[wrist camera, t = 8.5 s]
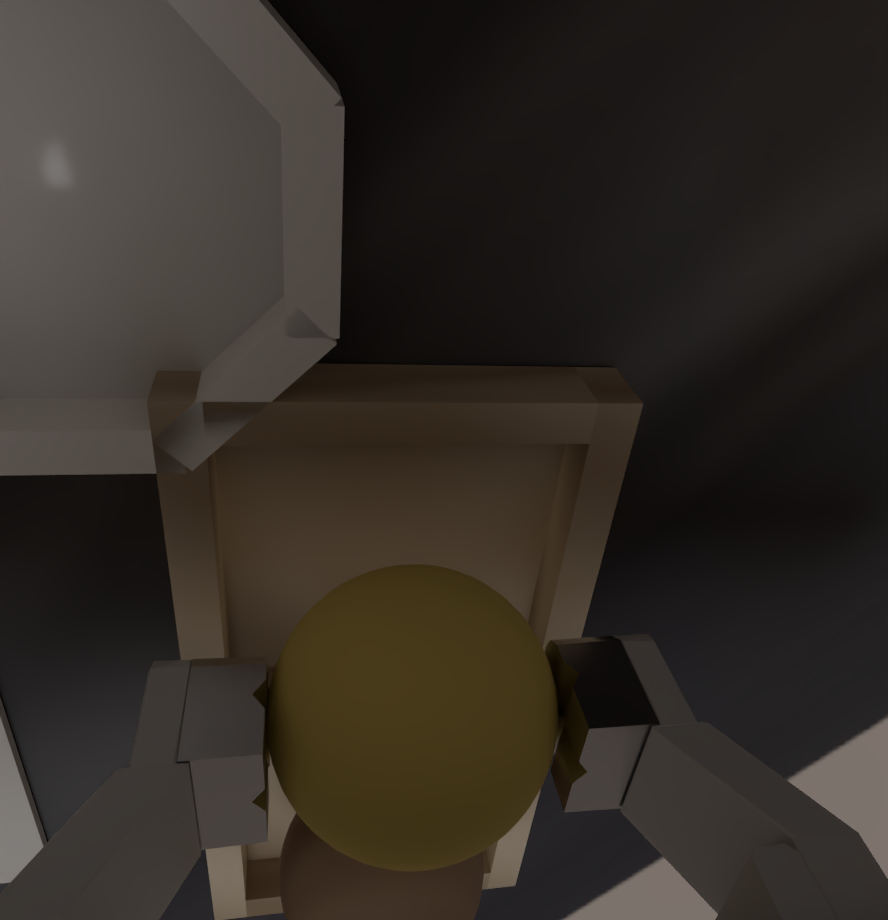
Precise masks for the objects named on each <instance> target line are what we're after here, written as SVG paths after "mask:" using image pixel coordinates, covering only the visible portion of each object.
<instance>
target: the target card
mask: <svg viewBox="0 0 888 920" xmlns="http://www.w3.org/2000/svg"><path fill="white" fill-rule="evenodd" d="M46 844H47V840H46V836H45V833H44V830H43V827H42V824H41V821H40V818H39V815H38V812H37V809H36V806H35V803H34V800H33V796H32V793H31V790H30V787H29V784H28V781H27V778H26V775H25V772H24V769H23V766H22V763H21V760H20V756H19V753H18V750H17V747H16V744H15V741H14V738H13V735H12V732H11V729H10V726H9V723H8V720H7V716H6V713H5V710H4V707H3V704H2V701H1V698H0V883H8V882H11V881H12V880H13V879H14V878H15V877H16V876H17V875H18V874H19V873H20V872H21V871H22V869H23V868H24V867H25V866H26V865H27V864H28V863H29V862H30V861H31V860H32V859H33V858H34V857H35V856H36V854H37V853H38V852H39V851H40V850H41V849H42V848H43V847H44V846H45V845H46Z"/></svg>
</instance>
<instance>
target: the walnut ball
mask: <svg viewBox="0 0 888 920" xmlns="http://www.w3.org/2000/svg"><path fill="white" fill-rule="evenodd" d="M483 877H484V859H483V852H481V853H479V854H477V855H475V856H473V857H471V858H469V859H467V860H465V861H462V862H459V863H457V864H454V865H450V866H447V867H443V868H438V869H433V870H426V871H394V870H388V869H383V868H378V867H374V866H370V865H367V864H364V863H361V862H359V861H356V860H354V859H352V858H350V857H348V856H346V855H344V854H342V853H341V852H339V851H337V850H335V849H334V848H332V847H331V846H330V845H328V844H327V843H326V842H325V841H323V840H322V839H321V838H319V837H318V836H317V835H316V834H315V833H314V832H313V831H312V830H311V829H310V828H309V827H308V826H307V825H306V824H305V823H304V821H303V820H302V819H301V818H300V817H299V816H298V815H297V813H296V814H295V816H294V818H293V819H292V821H291V823H290V825H289V828H288V831H287V833H286V836H285V839H284V843H283V847H282V851H281V856H280V867H279V891H280V897H281V902H282V908H283V912H284V915H285V918H286V920H473V919H474V917H475V915H476V912H477V909H478V905H479V902H480V898H481V894H482V886H483Z"/></svg>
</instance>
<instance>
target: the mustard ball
mask: <svg viewBox="0 0 888 920" xmlns="http://www.w3.org/2000/svg"><path fill="white" fill-rule="evenodd" d="M557 728H558V703H557V694H556V687H555V683H554V679H553V675H552V671H551V667H550V664H549V661H548V659H547V657H546V654H545V652H544V650H543V648H542V646H541V643H540V641H539V639H538V637H537V636H536V634H535V633H534V631H533V630H532V628H531V627H530V625H529V624H528V622H527V621H526V620H525V618H524V617H523V616H522V614H521V613H520V612H519V611H518V610H517V609H516V608H515V607H514V606H513V605H512V604H511V603H510V602H509V601H508V600H507V599H506V598H505V597H503V596H502V595H501V594H499V593H498V592H496V591H495V590H494V589H492V588H491V587H489V586H488V585H486V584H485V583H483V582H481V581H479V580H477V579H475V578H474V577H471V576H469V575H466V574H463V573H461V572H458V571H455V570H452V569H449V568H444V567H440V566H433V565H425V564H407V565H395V566H390V567H384V568H380V569H377V570H373V571H370V572H366V573H364V574H361V575H359V576H357V577H354V578H352V579H350V580H348V581H346V582H344V583H343V584H341V585H339V586H338V587H336V588H335V589H333V590H332V591H330V592H329V593H328V594H327V595H325V596H324V597H323V598H322V599H321V600H320V601H318V602H317V603H316V604H315V605H314V606H313V607H312V608H311V609H310V610H309V611H308V612H307V613H306V614H305V615H304V617H303V618H302V619H301V620H300V622H299V623H298V624H297V626H296V627H295V628H294V630H293V631H292V633H291V634H290V636H289V638H288V639H287V641H286V643H285V645H284V647H283V649H282V651H281V654H280V656H279V658H278V660H277V662H276V665H275V669H274V672H273V676H272V679H271V683H270V687H269V692H268V714H267V716H266V729H267V740H268V746H269V751H270V756H271V761H272V765H273V767H274V770H275V773H276V775H277V778H278V780H279V783H280V786H281V788H282V791H283V792H284V794H285V796H286V797H287V799H288V801H289V802H290V804H291V805H292V807H293V809H294V810H295V812H296V813H297V815H298V816H299V817H300V818H301V819H302V820H303V821H304V823H305V824H306V825H307V826H308V827H309V828H310V829H311V830H312V831H313V832H314V833H315V834H316V835H317V836H318V837H319V838H321V839H322V840H323V841H325V842H326V843H327V844H328V845H330V846H331V847H332V848H334V849H335V850H337V851H339V852H341V853H342V854H344V855H346V856H348V857H350V858H352V859H354V860H356V861H359V862H361V863H364V864H367V865H370V866H374V867H378V868H383V869H388V870H394V871H426V870H433V869H438V868H443V867H447V866H450V865H454V864H457V863H459V862H462V861H465V860H467V859H469V858H471V857H473V856H475V855H477V854H479V853H481V852H482V851H484V850H485V849H487V848H488V847H490V846H491V845H493V844H494V843H496V842H497V841H498V840H500V839H501V838H502V837H503V836H505V835H506V834H507V833H508V832H509V831H510V830H511V829H512V828H513V827H514V826H515V825H516V823H517V822H518V821H519V820H520V819H521V818H522V817H523V816H524V814H525V813H526V812H527V810H528V809H529V808H530V806H531V804H532V803H533V801H534V799H535V798H536V796H537V794H538V793H539V791H540V789H541V787H542V785H543V783H544V780H545V778H546V775H547V773H548V770H549V767H550V765H551V762H552V758H553V753H554V749H555V744H556V738H557Z"/></svg>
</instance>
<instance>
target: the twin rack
mask: <svg viewBox="0 0 888 920" xmlns="http://www.w3.org/2000/svg"><path fill="white" fill-rule="evenodd" d="M201 373H202V371H157V372H156V375H155V378H154V381H153V384H152V387H151V390H150V394H149V397H148V400H147V406H148V413H149V421H150V429H151V434H152V435H151V436H152V441H153V442H152V444H153V452H154V457H155V455H156V456H157V457H155V458H154V459H156V460H158V461H156V460H155V461H156V462H157V463H158V462H159V464H161V465H160V466H161V468H160V466H159V464H158V465H157V464H155V467H156V471H157V469H158V470H160V469H161V470H160V471H158V472H161V473H162V474H161V473H158V472H157V473H156V474H157V482H158V490H159V497H160V505H161V513H162V520H163V528H164V536H165V543H166V551H167V558H168V566H169V574H170V581H171V589H172V597H173V604H174V612H175V620H176V627H177V635H178V642H179V650H180V658H181V660H191V659H206V658H238V657H268V669H269V687H270V683H271V679H272V676H273V672H274V669H275V665H276V662H277V660H278V658H279V656H280V654H281V651H282V649H283V647H284V645H285V643H286V641H287V639H288V638H289V636H290V634H291V633H292V631H293V630H294V628H295V627H296V626H297V624H298V623H299V622H300V620H301V619H302V618H303V617H304V615H305V614H306V613H307V612H308V611H309V610H310V609H311V608H312V607H313V606H314V605H315V604H316V603H317V602H318V601H320V600H321V599H322V598H323V597H324V596H325V595H327V594H328V593H329V592H330V591H332V590H333V589H335V588H336V587H338V586H339V585H341V584H343V583H344V582H346V581H348V580H350V579H352V578H354V577H357V576H359V575H361V574H364V573H366V572H370V571H373V570H377V569H380V568H384V567H390V566H395V565H407V564H425V565H433V566H440V567H444V568H449V569H452V570H455V571H458V572H461V573H463V574H466V575H469V576H471V577H474V578H475V579H477V580H479V581H481V582H483V583H485V584H486V585H488V586H489V587H491V588H492V589H494V590H495V591H496V592H498V593H499V594H501V595H502V596H503V597H505V598H506V599H507V600H508V601H509V602H510V603H511V604H512V605H513V606H514V607H515V608H516V609H517V610H518V611H519V612H520V613H521V614H522V616H523V617H524V618H525V620H526V621H527V622H528V624H529V625H530V627H531V628H532V630H533V631H534V633H535V634H536V636H537V637H538V639H539V641H540V643H541V646H542V648H543V650H544V652H545V648H546V645H547V644H548V642H549V641H550V640H558V639H573V638H581V636H582V632H583V629H584V625H585V621H586V617H587V614H588V610H589V606H590V602H591V599H592V595H593V591H594V587H595V583H596V580H597V576H598V572H599V568H600V565H601V561H602V557H603V553H604V550H605V546H606V542H607V538H608V535H609V531H610V527H611V523H612V520H613V516H614V512H615V508H616V505H617V501H618V497H619V493H620V489H621V486H622V482H623V478H624V474H625V471H626V467H627V463H628V459H629V456H630V452H631V448H632V444H633V441H634V437H635V433H636V429H637V426H638V422H639V418H640V414H641V411H642V407H643V403H642V401H641V400H640V399H639V397H638V396H637V395H636V393H635V392H634V391H633V390H632V388H631V387H630V386H629V384H628V383H627V382H626V380H625V379H624V378H623V377H622V375H621V374H620V373H619V371H618V370H617V369H616V368H612V367H539V366H466V365H394V364H321V363H315V364H314V365H313V366H312V367H311V368H309V369H308V370H307V371H306V372H305V373H304V374H303V375H301V376H300V377H299V378H298V379H297V380H296V381H295V382H293V383H292V384H291V385H290V386H289V387H288V388H287V389H285V390H284V391H283V392H282V393H281V394H280V395H279V396H277V397H276V398H275V399H274V400H273V401H272V402H270V403H269V402H257V404H258V407H259V408H258V407H257V404H256V402H254V403H253V402H244V403H245V404H244V403H243V402H241V403H239V402H231V403H230V402H202V403H201V404H202V405H203V409H204V410H203V411H205V412H203V413H204V415H203V413H202V411H201V413H202V416H204V417H203V418H205V419H206V421H203V420H202V419H201V420H202V422H204V423H207V420H208V421H209V422H208V423H210V422H211V421H212V420H213V419H214V422H213V421H212V422H213V423H215V421H216V422H217V423H218V422H221V421H222V420H226V419H228V420H229V419H230V418H228V417H230V415H231V414H232V415H231V416H232V417H233V416H234V415H235V414H236V413H237V412H238V411H237V410H238V409H239V411H240V412H238V413H237V414H236V415H239V414H240V416H234V417H238V418H235V419H236V421H238V420H237V419H239V421H240V420H241V419H242V420H244V421H247V420H248V419H246V417H247V415H248V414H249V413H251V414H250V415H248V417H247V418H249V420H250V421H249V422H248V421H247V422H248V423H247V422H246V423H247V424H246V425H244V426H243V427H242V428H241V429H240V430H239V431H238V432H237V431H236V433H235V431H234V433H235V434H234V435H233V436H232V437H231V438H229V439H228V440H227V441H226V442H225V443H224V444H223V445H222V446H220V447H219V448H218V449H217V450H216V451H215V452H214V453H212V454H211V455H210V456H209V457H208V458H207V459H206V460H204V461H203V462H202V463H201V464H200V465H199V466H198V467H196V468H195V469H194V470H193V471H191V470H190V469H189V468H187V467H186V469H185V470H186V473H179V472H181V471H183V472H184V469H183V470H180V471H179V472H178V473H177V470H179V469H182V468H183V467H185V465H184V466H183V465H182V464H180V465H182V466H183V467H182V466H181V467H182V468H179V467H180V465H179V463H180V462H179V463H178V461H176V460H175V459H177V458H178V457H177V456H176V457H177V458H176V457H175V459H174V456H173V457H172V456H171V455H174V454H172V453H170V454H171V455H169V453H168V451H167V452H166V451H165V450H162V449H165V447H166V450H169V448H170V447H172V446H171V445H173V443H174V446H176V445H175V442H174V441H176V439H175V438H176V437H175V438H174V436H173V435H172V436H171V433H172V434H174V435H175V434H176V433H173V432H176V431H177V433H178V432H183V430H184V428H183V430H182V429H181V428H182V427H183V426H187V427H188V425H186V421H185V420H184V416H183V415H181V414H182V413H183V414H185V413H184V411H185V410H186V411H187V412H188V410H187V409H190V406H191V407H192V404H193V403H194V402H195V400H196V395H197V391H198V386H199V382H200V377H201ZM196 403H197V402H196ZM199 403H200V402H199ZM226 403H227V404H226ZM228 403H229V404H228ZM249 403H250V404H249ZM204 404H205V405H204ZM223 404H224V405H223ZM237 404H239V405H237ZM247 404H248V406H249V405H250V406H249V407H248V406H247ZM254 404H255V405H254ZM259 404H260V406H259ZM262 404H263V405H262ZM193 405H194V404H193ZM197 405H198V404H197ZM242 405H243V406H242ZM244 405H246V406H244ZM252 405H253V406H254V407H253V406H252ZM198 406H200V405H198ZM206 406H207V407H206ZM225 406H226V407H225ZM230 406H231V407H230ZM236 406H237V407H236ZM262 406H263V407H262ZM210 407H211V408H210ZM217 407H218V408H217ZM227 407H228V408H227ZM252 407H253V408H254V409H253V408H252ZM255 407H256V408H255ZM260 407H261V408H260ZM193 408H194V409H195V406H193ZM198 408H200V407H197V409H198ZM208 408H209V409H208ZM225 408H226V409H225ZM245 408H247V409H245ZM250 408H251V409H250ZM257 408H258V409H257ZM262 408H264V409H262ZM194 409H193V410H194ZM219 409H220V410H219ZM259 409H260V412H259V411H258V412H257V410H259ZM261 409H262V410H261ZM190 410H192V409H190ZM200 410H201V409H200ZM230 410H231V411H230ZM241 410H242V411H241ZM245 410H247V411H245ZM253 410H254V411H253ZM195 411H196V410H195ZM197 411H198V410H197ZM214 411H215V413H214ZM218 411H219V412H218ZM221 411H222V412H221ZM226 411H227V412H226ZM234 411H235V412H234ZM244 411H245V412H244ZM249 411H253V412H256V413H254V414H253V412H249ZM190 412H191V413H189V414H193V413H192V412H194V411H190ZM206 412H207V414H206ZM211 412H212V413H211ZM217 412H218V414H219V415H218V414H217ZM224 412H226V413H228V414H225V413H224ZM246 412H247V414H245V413H246ZM195 413H196V412H195ZM195 413H194V416H195ZM243 413H244V414H243ZM205 414H206V415H205ZM209 414H211V415H209ZM214 414H216V416H217V417H216V416H214ZM220 414H221V416H222V415H223V416H222V417H223V418H224V417H225V418H224V419H223V418H222V417H221V416H220ZM241 414H242V415H245V416H246V417H245V416H243V417H244V419H243V417H242V415H241ZM256 414H257V415H256ZM180 415H181V416H182V417H183V418H182V417H181V418H180V419H181V420H179V421H180V423H181V421H182V422H183V423H185V425H184V424H183V423H181V425H182V424H183V426H182V427H180V426H181V425H177V428H178V426H179V428H180V430H181V431H180V430H179V428H178V430H179V431H178V430H172V429H174V427H175V429H177V428H176V426H175V425H174V423H176V424H179V422H177V421H178V420H177V418H179V416H180ZM186 415H188V414H187V413H186ZM186 415H185V417H186ZM199 415H200V413H199ZM199 415H198V416H199ZM212 415H213V416H212ZM227 415H228V417H226V416H227ZM251 415H253V416H254V415H255V417H252V416H251ZM191 416H193V415H190V416H187V417H190V418H188V419H186V418H185V419H186V420H187V424H189V422H188V421H189V420H191V419H192V417H191ZM206 416H209V417H207V418H206ZM250 416H251V417H252V419H250V418H251V417H250ZM219 417H220V418H221V419H222V420H218V418H219ZM232 417H231V420H234V417H233V419H232ZM239 417H242V418H239ZM215 418H216V420H215ZM182 419H183V420H182ZM210 419H211V420H210ZM174 420H176V421H174ZM194 420H196V421H197V418H196V419H194ZM217 420H218V421H217ZM231 420H230V421H231ZM173 421H174V422H173ZM191 421H192V423H193V420H191ZM198 421H200V420H199V419H198ZM226 421H227V420H226ZM226 421H223V422H221V423H222V425H223V427H224V422H225V423H226V424H227V423H230V421H228V422H226ZM239 421H238V422H235V420H234V421H233V422H234V424H235V423H237V424H238V423H239ZM240 422H241V421H240ZM172 423H173V426H171V425H172ZM194 423H195V421H194ZM194 423H193V424H194ZM213 423H212V424H213ZM217 423H215V424H216V425H217ZM242 423H243V424H245V423H244V422H243V421H242ZM242 423H240V424H238V425H241V424H242ZM170 424H171V425H170ZM190 424H191V422H190ZM193 424H191V425H193ZM197 424H201V425H202V423H199V422H197ZM210 424H211V423H210ZM210 424H209V425H208V426H209V427H210V426H211V427H210V428H212V427H213V429H217V428H216V427H214V426H212V425H210ZM215 424H213V425H215ZM218 424H220V423H218ZM229 425H232V424H229ZM170 426H171V427H170ZM194 426H195V424H194ZM202 426H203V427H204V426H205V425H202ZM206 426H207V424H206ZM208 426H207V427H208ZM217 426H219V425H217ZM220 426H221V425H220ZM220 426H219V427H218V428H220ZM225 426H228V425H225ZM233 426H234V425H233ZM235 426H236V424H235ZM168 427H169V428H170V430H169V428H168ZM172 427H173V428H172ZM189 427H191V428H193V426H189ZM195 427H196V426H195ZM198 427H199V426H198ZM200 427H201V426H200ZM209 427H208V428H209ZM230 427H232V426H230ZM239 427H240V426H239ZM171 428H172V429H171ZM191 428H190V429H191ZM204 428H205V427H204ZM227 428H228V427H227ZM235 428H236V427H235ZM164 429H165V430H166V431H165V430H164ZM194 429H195V428H194ZM196 429H197V428H196ZM205 429H207V428H205ZM213 429H211V430H213ZM222 429H224V428H222ZM230 429H232V428H230ZM188 430H189V429H188ZM198 430H199V428H198ZM207 430H208V429H207ZM235 430H236V429H235ZM171 431H172V432H171ZM185 431H187V429H186V430H184V432H185ZM191 431H192V430H191ZM199 431H200V430H199ZM216 431H217V430H216ZM218 431H220V429H219V430H218ZM218 431H217V432H218ZM224 431H225V430H224ZM231 431H233V430H231ZM163 432H166V433H163ZM184 432H183V433H184ZM188 432H189V431H188ZM197 432H198V431H197ZM208 432H209V430H208ZM214 432H215V431H214ZM226 432H230V431H226ZM161 433H162V434H161ZM168 433H170V434H168ZM183 433H180V434H183ZM189 433H190V432H189ZM189 433H188V434H189ZM200 433H201V432H200ZM232 433H233V432H232ZM164 434H167V435H165V436H164ZM180 434H179V435H180ZM185 434H186V432H185ZM185 434H184V435H185ZM188 434H186V435H188ZM192 434H193V433H192ZM192 434H191V435H192ZM212 434H213V433H212ZM219 434H220V433H219ZM159 435H160V436H159ZM162 435H163V436H162ZM179 435H178V434H176V436H179ZM184 435H183V436H182V435H181V436H179V437H181V438H182V437H184ZM191 435H189V436H191ZM216 435H217V434H216ZM225 435H226V434H225ZM231 435H232V434H231ZM157 436H159V437H157ZM166 436H170V437H171V438H170V437H166ZM189 436H188V438H189ZM199 436H200V435H199ZM205 436H206V435H205ZM213 436H214V435H213ZM228 436H229V435H228ZM160 437H162V438H160ZM172 437H173V438H174V439H173V438H172ZM202 437H203V436H202ZM208 437H209V436H208ZM217 437H218V436H217ZM224 437H225V436H224ZM153 438H154V439H153ZM158 438H159V439H160V440H161V441H159V439H158ZM166 438H167V440H168V439H169V441H168V442H170V443H171V444H170V443H167V442H166V441H167V440H166ZM184 438H185V437H184ZM197 438H198V437H197ZM199 438H200V437H199ZM212 438H213V437H212ZM220 438H221V437H220ZM157 439H158V440H157ZM162 439H163V440H162ZM164 439H165V440H164ZM170 439H171V440H172V439H173V440H174V441H173V440H172V442H173V443H172V442H171V440H170ZM177 439H178V438H177ZM209 439H211V438H209ZM218 439H219V438H218ZM182 440H184V439H182ZM193 440H194V439H193ZM213 440H214V439H213ZM154 441H156V443H154ZM179 441H180V442H181V443H182V441H181V440H179ZM209 441H210V440H209ZM157 442H158V443H157ZM176 442H177V441H176ZM183 442H184V441H183ZM185 442H187V440H186V441H185ZM199 442H200V441H199ZM206 442H207V441H206ZM213 442H214V441H213ZM160 443H161V444H160ZM162 443H163V444H162ZM165 443H166V444H167V446H166V444H165ZM178 443H179V442H178ZM178 443H176V444H177V445H178ZM189 443H190V441H189ZM192 443H193V442H192ZM194 443H195V442H194ZM202 443H203V442H202ZM168 444H170V445H168ZM197 444H198V443H197ZM156 445H158V446H156ZM179 445H180V446H181V445H182V444H179ZM179 445H178V448H180V447H179ZM187 445H189V444H187ZM190 445H191V443H190ZM159 446H160V447H159ZM161 446H163V447H164V448H163V447H161ZM168 446H170V447H169V448H167V447H168ZM183 446H184V445H183ZM193 446H194V445H193ZM194 448H195V447H194ZM199 448H200V447H199ZM171 449H173V448H171ZM181 449H183V448H182V447H181ZM184 449H185V447H184ZM189 449H190V448H189ZM177 450H178V449H177ZM187 450H188V449H187ZM190 450H191V449H190ZM192 450H193V449H192ZM156 451H157V452H156ZM178 451H182V450H178ZM203 451H204V450H203ZM158 452H160V453H158ZM169 452H170V451H169ZM171 452H172V451H171ZM183 452H184V451H183ZM187 452H188V451H187ZM161 453H163V455H162V454H161ZM167 453H168V454H167ZM175 453H176V451H175ZM180 453H181V452H179V454H180ZM184 453H185V452H184ZM189 453H190V452H189ZM159 454H160V455H159ZM165 454H166V455H165ZM181 454H182V453H181ZM192 454H193V453H192ZM177 455H178V454H177ZM164 456H167V457H165V458H164ZM170 456H171V457H170ZM200 456H201V455H200ZM159 457H160V459H161V463H160V459H157V458H159ZM169 457H170V458H169ZM171 458H173V459H171ZM167 459H168V460H169V462H168V461H166V460H167ZM181 459H182V458H181ZM171 460H172V461H171ZM174 460H175V461H174ZM177 460H178V459H177ZM163 461H165V462H163ZM170 461H171V462H172V463H173V464H176V463H175V462H177V463H178V464H177V465H179V467H178V466H177V465H173V464H171V462H170ZM197 461H198V460H197ZM166 462H168V463H170V465H169V464H168V463H167V465H168V466H170V467H172V465H173V467H174V468H175V467H176V466H177V467H178V468H179V469H177V470H176V468H177V467H176V468H175V470H176V473H173V472H175V471H174V469H173V468H170V467H166V466H167V465H166ZM162 463H163V464H162ZM164 463H165V466H164ZM181 463H182V462H181ZM190 463H191V462H190ZM162 465H163V467H162ZM165 467H166V468H168V469H167V470H168V471H166V472H167V473H165V471H164V472H163V471H162V469H163V470H164V468H165ZM166 468H165V470H166ZM171 469H173V470H172V472H171V471H170V470H171ZM170 472H171V473H170ZM163 473H164V474H163ZM168 473H169V474H168ZM268 692H269V691H268ZM268 781H269V810H268V837H267V842H261V843H253V844H245V845H237V846H229V847H222V848H214V849H206V856H207V864H208V871H209V879H210V887H211V894H212V902H213V910H214V917H215V920H224V919H233V918H241V917H250V916H258V915H267V914H276V913H284V912H283V908H282V902H281V897H280V891H279V867H280V856H281V851H282V847H283V843H284V839H285V836H286V833H287V831H288V828H289V825H290V823H291V821H292V819H293V818H294V816H295V814H296V812H295V810H294V809H293V807H292V805H291V804H290V802H289V801H288V799H287V797H286V796H285V794H284V792H283V791H282V788H281V786H280V783H279V780H278V778H277V775H276V773H275V770H274V767H273V765H272V761H271V756H270V766H269V767H268ZM540 790H541V789H540ZM539 794H540V791H539V793H538V794H537V796H536V798H535V799H534V801H533V803H532V804H531V806H530V808H529V809H528V810H527V812H526V813H525V814H524V816H523V817H522V818H521V819H520V820H519V821H518V822H517V823H516V825H515V826H514V827H513V828H512V829H511V830H510V831H509V832H508V833H507V834H506V835H505V836H503V837H502V838H501V839H500V840H498V841H497V842H496V843H494V844H493V845H491V846H490V847H488V848H487V849H485V850H484V851H482V852H483V859H484V877H483V886H482V889H491V888H499V887H508V886H515V884H516V880H517V877H518V873H519V869H520V865H521V862H522V858H523V854H524V850H525V847H526V843H527V839H528V835H529V832H530V828H531V824H532V820H533V817H534V813H535V809H536V805H537V802H538V798H539Z"/></svg>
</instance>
